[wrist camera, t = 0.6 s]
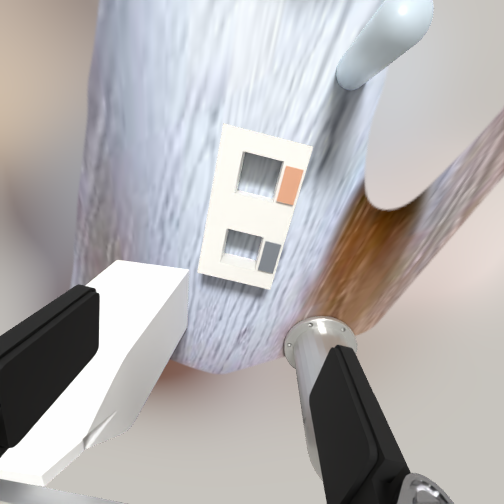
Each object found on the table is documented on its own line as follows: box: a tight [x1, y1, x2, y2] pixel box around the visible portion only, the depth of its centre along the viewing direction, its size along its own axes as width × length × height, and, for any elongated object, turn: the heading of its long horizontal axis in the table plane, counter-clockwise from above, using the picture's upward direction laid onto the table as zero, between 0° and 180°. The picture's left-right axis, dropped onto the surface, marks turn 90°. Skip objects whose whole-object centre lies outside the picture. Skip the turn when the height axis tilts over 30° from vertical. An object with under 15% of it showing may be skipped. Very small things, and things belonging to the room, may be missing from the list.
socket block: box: [197, 123, 313, 290], centre depth 34 cm, size 20×11×4 cm, turn 167°
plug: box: [336, 0, 434, 90], centre depth 24 cm, size 4×4×12 cm
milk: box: [0, 260, 189, 486], centre depth 30 cm, size 12×12×26 cm
